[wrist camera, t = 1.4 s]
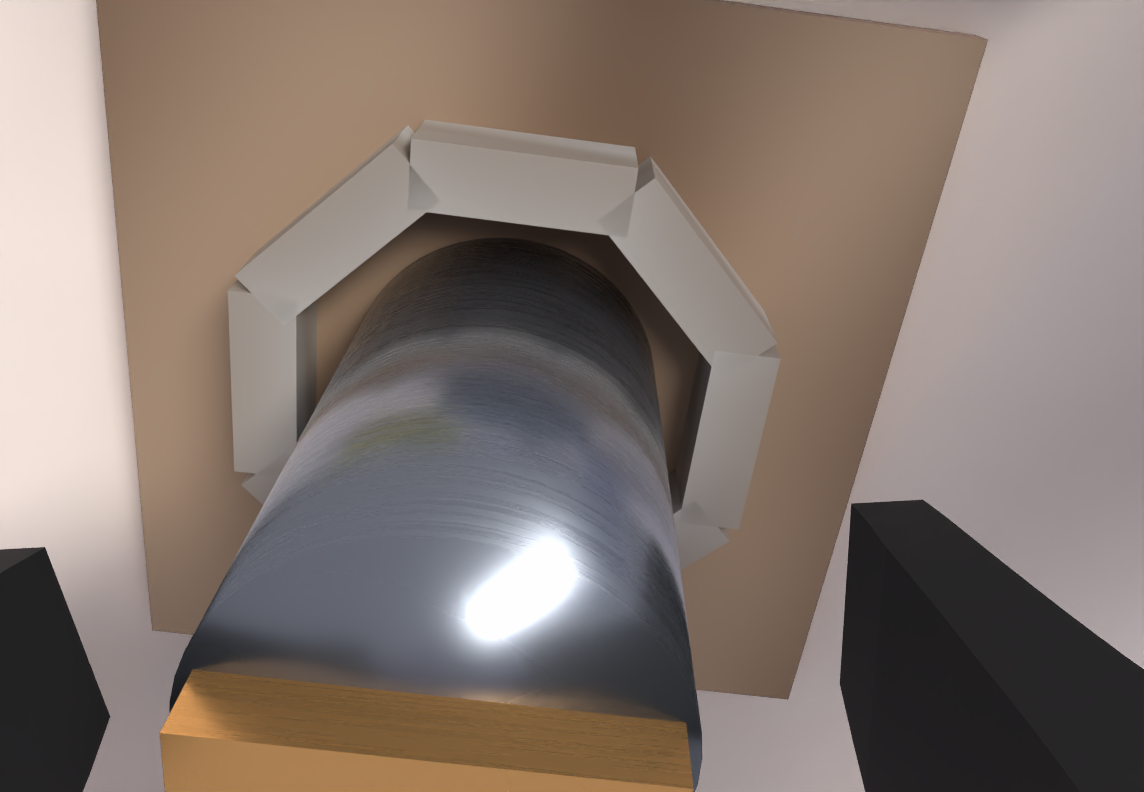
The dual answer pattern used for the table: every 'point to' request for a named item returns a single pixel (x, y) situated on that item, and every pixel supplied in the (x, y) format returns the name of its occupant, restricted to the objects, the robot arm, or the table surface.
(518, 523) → the cylinder with rectangular bar
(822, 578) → the socket plate
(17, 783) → the robot arm
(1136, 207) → the table surface
